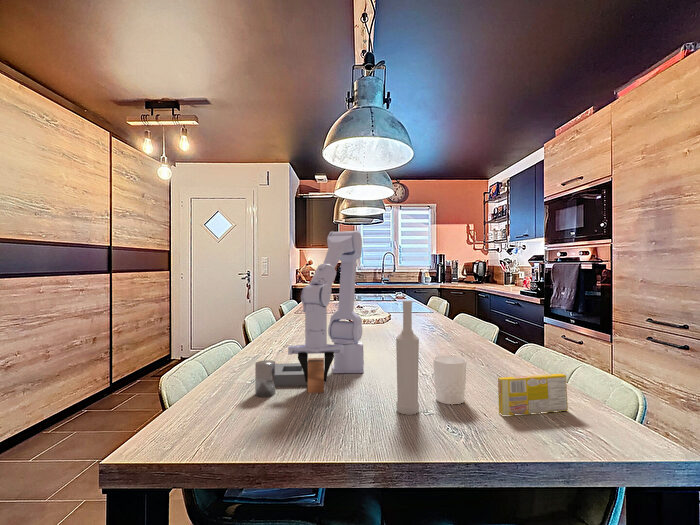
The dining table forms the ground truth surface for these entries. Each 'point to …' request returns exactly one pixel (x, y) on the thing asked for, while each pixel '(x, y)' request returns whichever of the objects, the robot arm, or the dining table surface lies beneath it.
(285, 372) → the bore block
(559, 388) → the candy box
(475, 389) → the dining table surface
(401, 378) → the bottle
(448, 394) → the white cup
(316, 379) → the square peg
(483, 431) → the dining table surface
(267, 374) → the round dowel
